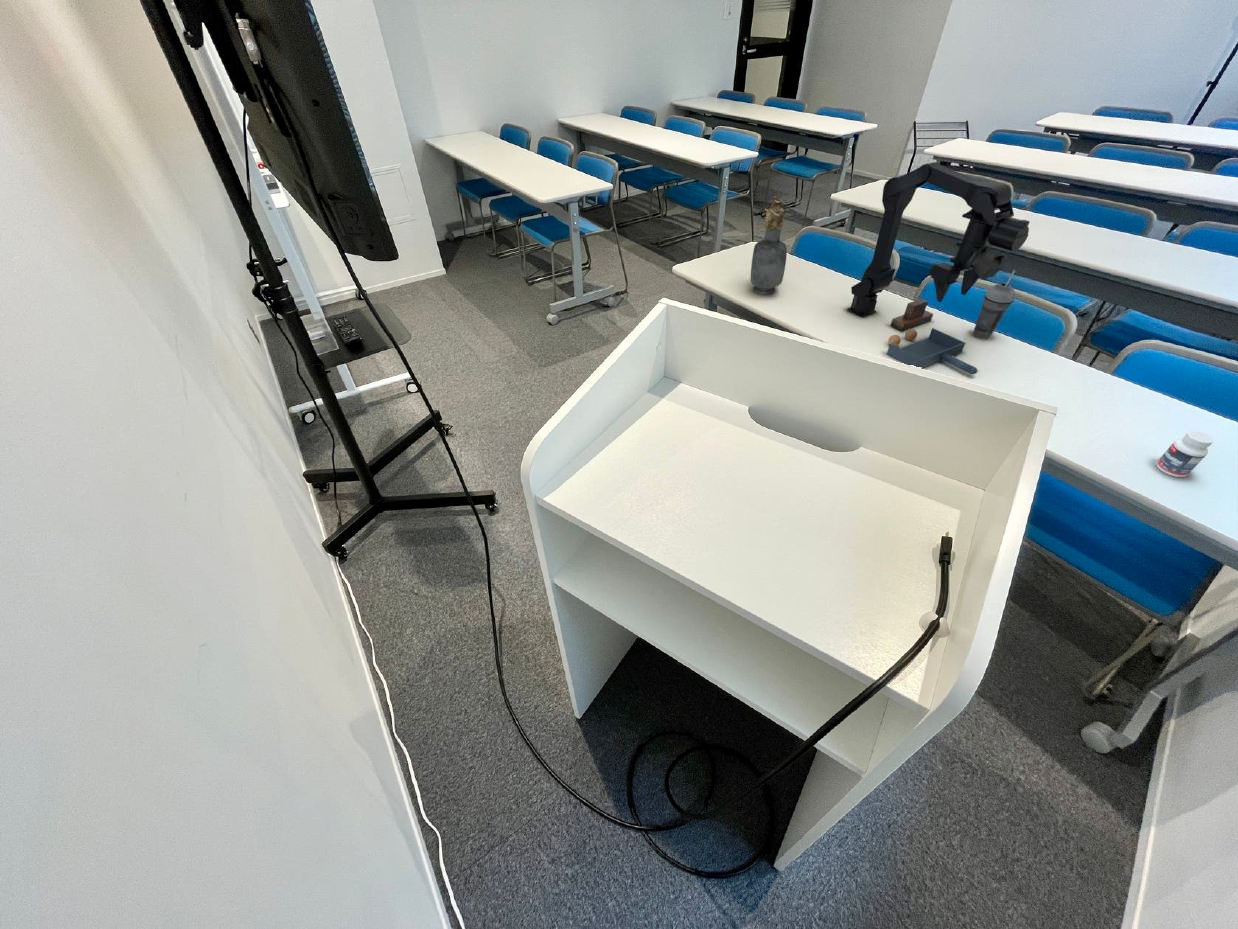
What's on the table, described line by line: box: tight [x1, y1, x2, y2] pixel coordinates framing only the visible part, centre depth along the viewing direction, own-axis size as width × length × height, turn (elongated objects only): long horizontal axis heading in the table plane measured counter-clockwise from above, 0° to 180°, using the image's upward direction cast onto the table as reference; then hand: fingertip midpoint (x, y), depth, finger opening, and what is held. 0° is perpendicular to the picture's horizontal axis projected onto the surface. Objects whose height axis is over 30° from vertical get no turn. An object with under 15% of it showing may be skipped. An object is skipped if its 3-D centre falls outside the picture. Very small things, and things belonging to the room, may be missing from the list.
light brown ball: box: [887, 334, 902, 347], centre depth 153 cm, size 3×3×3 cm
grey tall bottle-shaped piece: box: [750, 195, 790, 296], centre depth 177 cm, size 11×19×30 cm, turn 169°
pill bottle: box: [1155, 430, 1215, 478], centre depth 108 cm, size 5×5×9 cm
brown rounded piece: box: [904, 328, 918, 341], centre depth 155 cm, size 3×3×3 cm
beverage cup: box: [972, 269, 1017, 340], centre depth 150 cm, size 7×7×20 cm
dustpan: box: [886, 327, 978, 375], centre depth 145 cm, size 20×18×3 cm
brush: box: [889, 298, 934, 333], centre depth 161 cm, size 4×13×7 cm, turn 119°
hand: (951, 297), depth 145 cm, fingers open, 9 cm apart
